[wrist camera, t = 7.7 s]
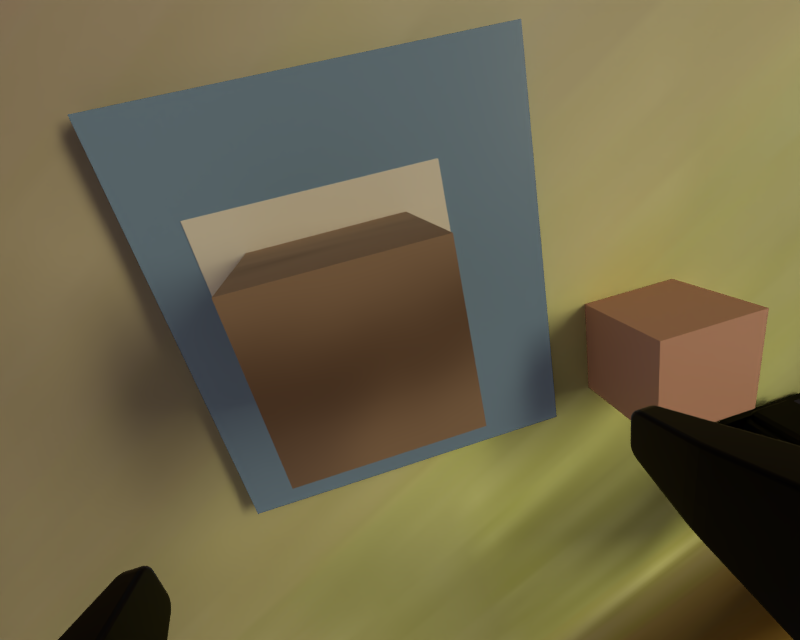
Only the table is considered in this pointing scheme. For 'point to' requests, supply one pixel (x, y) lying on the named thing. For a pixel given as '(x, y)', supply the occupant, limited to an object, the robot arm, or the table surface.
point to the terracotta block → (676, 350)
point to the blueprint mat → (339, 210)
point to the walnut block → (354, 344)
